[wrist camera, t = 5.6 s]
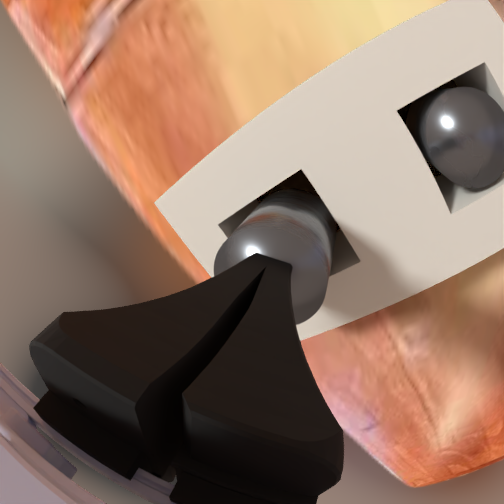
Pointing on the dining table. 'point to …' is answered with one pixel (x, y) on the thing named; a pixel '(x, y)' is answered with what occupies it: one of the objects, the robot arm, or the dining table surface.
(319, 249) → the peg
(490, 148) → the peg
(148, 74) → the dining table surface
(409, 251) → the bore block
